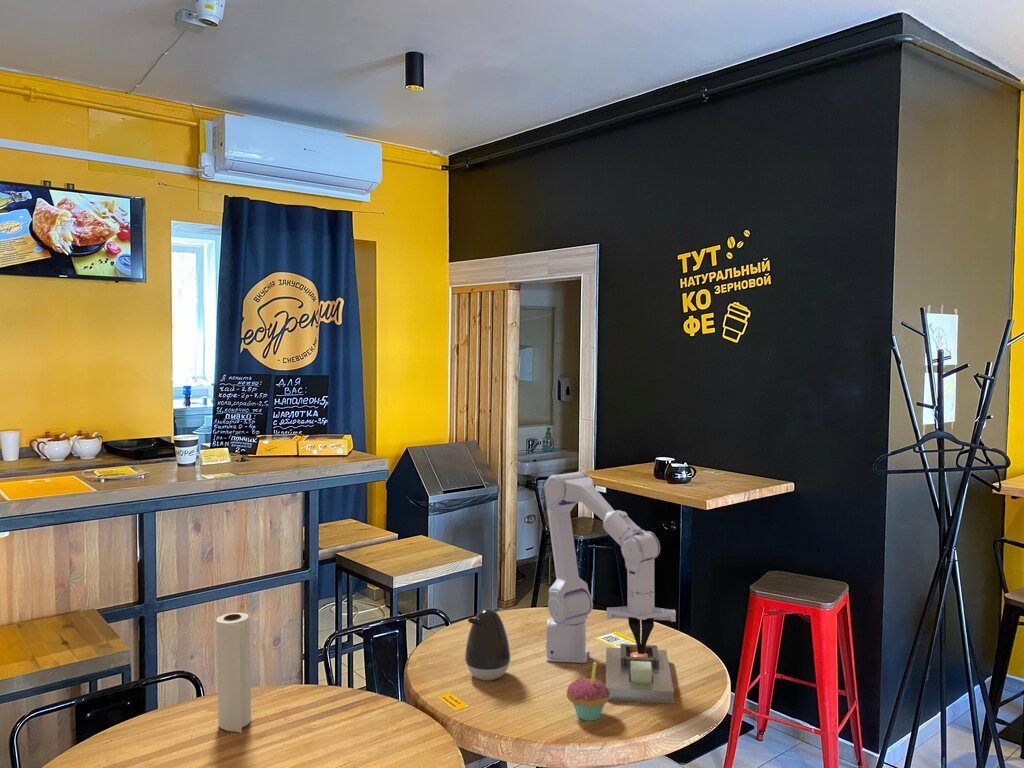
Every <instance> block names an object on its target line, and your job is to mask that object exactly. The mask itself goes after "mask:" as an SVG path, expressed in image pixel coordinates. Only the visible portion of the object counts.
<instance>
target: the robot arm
mask: <svg viewBox="0 0 1024 768" xmlns="http://www.w3.org/2000/svg"><path fill="white" fill-rule="evenodd" d="M594 485H595V484H594V480H593V478H591V477H590V476H589V475H588V473H587V472H585V471H583V470H577V471H576V472H567V473H561V474H551V475H550V476H549V477H548V478H547V480H546V481H545V482H544V484H543V487H544V494H545V504H546V511H547V512H546V513H547V518H548V525H549V532H550V533H549V534H550V538H551V539H550V541H551V548H552V555H553V562H554V564H553V565H554V570H555V571H554V572H555V578H556V579H555V581H554V582H553V583H552V585H551V586H550V587H549V589H548V603H547V609H548V613H549V615H550V617H551V618H548V619H547V620H546V642H545V650H546V661H547V662H556V663H557V662H558V663H578V664H579V663H580V664H581V663H582V664H586V663H588V655H589V654H588V653H589V648H587V647H586V645H587V644H586V640H587V634H586V633H587V631H586V630H587V629H586V628H587V627H586V624H587V622H586V620H588V619H589V614H590V613H591V612H592V610H593V606H594V603H593V602H594V601H593V597H592V595H591V594H590V591H589V587H588V583H587V582H586V581H585V580H583V579H582V578H580V575H579V568H578V561H577V554H576V553H577V552H576V546H575V540H574V532H573V525H572V518H571V511H572V510H573V508H575V506H576V504H578V503H582V504H583V505H585V507H586V508H588V509H589V510H590V511H591V512H592V513H593V514H594V515H596V516H597V517H598V518H599V519H600V520H601V521H602V522H603V530H605V532H606V533H607V534H608V535H609V536H610V538H612V539H613V540H614V541H615V542H616V543H617V544H618V545H619V546H620V551H621V555H622V557H623V558H624V563H625V564H624V566H625V568H626V570H627V571H626V572H627V576H626V577H627V582H626V583H627V585H626V586H627V591H626V592H627V605H626V606H617V607H616V606H614V607H606V620H612V619H627V620H628V626H629V628H630V631H631V633H632V635H633V638H634V642H635V645H637V649H638V654H645V647H646V645H647V643H648V640H649V637H650V635H651V632H652V631H653V630H654V626H655V623H654V622H655V621H670V622H674V623H675V622H676V621H677V619H676V616H677V615H676V614H677V613H676V610H675V609H669V608H661V607H655V559H656V558H657V557H659V555H660V552H661V545H660V541H659V539H658V537H657V536H656V534H655V533H654V532H652V531H648V530H647V531H646V530H645V529H642V528H641V527H640V526H638V525H637V524H636V523H635V522H634V521H633V520H632V519H631V518H630V517H629V516H628V513H627V512H626V511H622V510H619V509H617V510H615V509H613V507H612V506H611V504H610V503H608V501H607V500H606V499H605V498H604V496H602V494H601V493H600V492H599V491H598V490H597V488H596V487H595V486H594Z"/></svg>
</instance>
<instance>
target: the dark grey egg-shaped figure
mask: <svg viewBox="0 0 1024 768" xmlns="http://www.w3.org/2000/svg"><path fill="white" fill-rule="evenodd" d="M467 622H468V623H469V624H471V626H470V629H469V632H468V636H467V641H466V647H465V654H464V655H465V656H464V657H465V658H464V659H465V661H464V662H465V663H466V665H467V668H468V670H469V672H470V674H471V675H472V676H473V677H475V678H476V679H478V680H481V681H494V679H495V680H498V679H500V678H501V677H503V675H505V673H507V670H508V668H509V664H510V662H511V650H510V643H509V638H508V634H507V631H506V628H505V626H504V622H503V621H502V619H501V617H500V615H499V613H497V611H495V610H494V609H491V608H483V609H481V610H480V611H479V612H477V614H476V616H475V617H468V618H467Z"/></svg>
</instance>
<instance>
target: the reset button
mask: <svg viewBox="0 0 1024 768" xmlns="http://www.w3.org/2000/svg"><path fill="white" fill-rule="evenodd" d="M630 657H648V654H646V653H645V654H638V652H633V653H631V654H630Z"/></svg>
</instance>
